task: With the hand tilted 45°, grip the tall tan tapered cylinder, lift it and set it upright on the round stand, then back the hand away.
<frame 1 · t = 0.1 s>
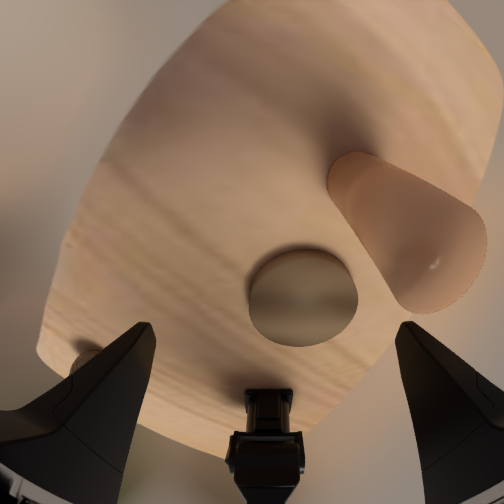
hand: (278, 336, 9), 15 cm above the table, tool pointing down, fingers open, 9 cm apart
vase: (102, 358, 34), on the table
stand: (302, 296, 26), on the table
tan tapered cylinder: (357, 183, 21), on the table
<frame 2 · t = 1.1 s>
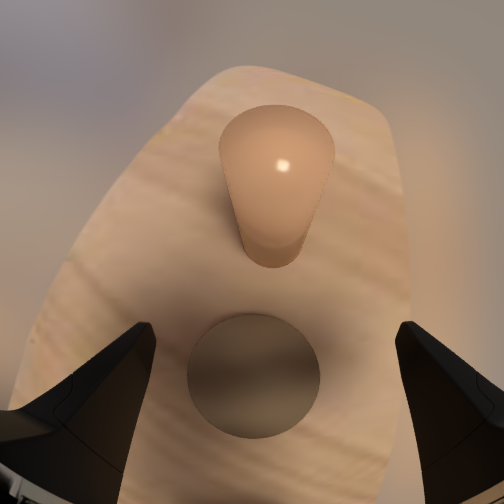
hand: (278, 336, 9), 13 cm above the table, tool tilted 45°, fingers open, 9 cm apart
stand: (254, 375, 21), on the table
tan tapered cylinder: (272, 238, 24), on the table
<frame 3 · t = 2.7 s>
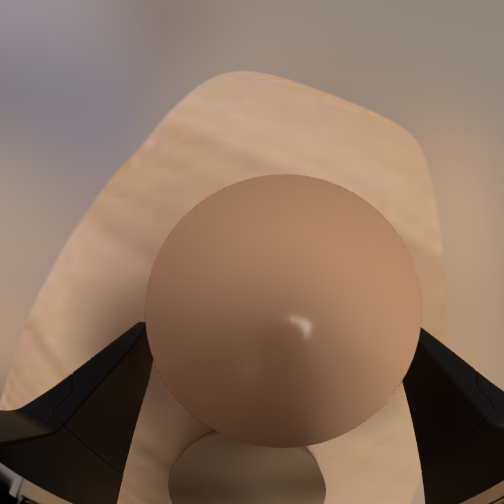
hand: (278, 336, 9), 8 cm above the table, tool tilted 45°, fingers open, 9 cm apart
stand: (247, 485, 14), on the table
tan tapered cylinder: (273, 328, 17), on the table
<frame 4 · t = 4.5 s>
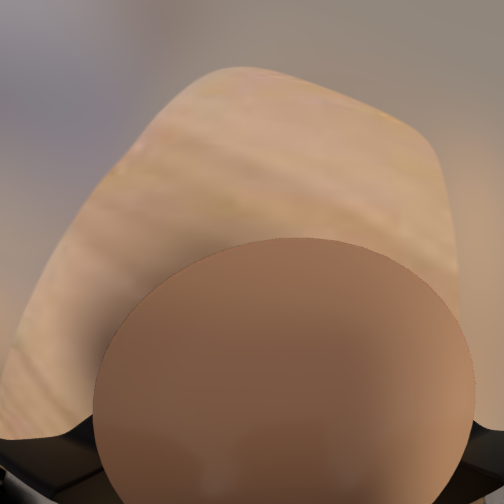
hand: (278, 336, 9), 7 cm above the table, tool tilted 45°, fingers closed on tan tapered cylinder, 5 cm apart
tan tapered cylinder: (273, 359, 15), on the table, touching gripper
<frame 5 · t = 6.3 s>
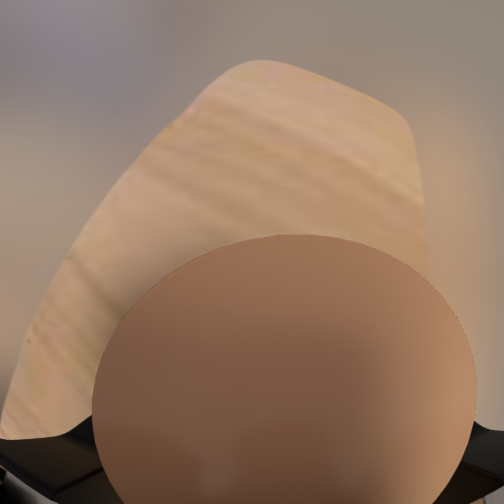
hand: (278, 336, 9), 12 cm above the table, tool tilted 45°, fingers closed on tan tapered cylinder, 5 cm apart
tan tapered cylinder: (273, 358, 15), point 6 cm above the table, touching gripper
when the fingers open (9 cm above the table, at t = 8.2 s): tan tapered cylinder stays where it is, resting on stand.
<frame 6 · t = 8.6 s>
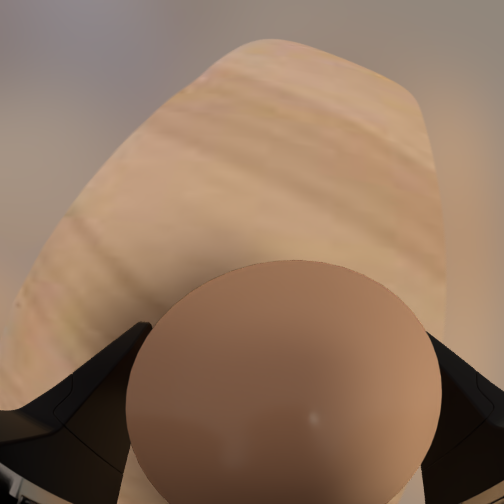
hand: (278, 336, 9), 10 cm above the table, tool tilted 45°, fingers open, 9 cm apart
tan tapered cylinder: (272, 358, 16), point 2 cm above the table, touching stand
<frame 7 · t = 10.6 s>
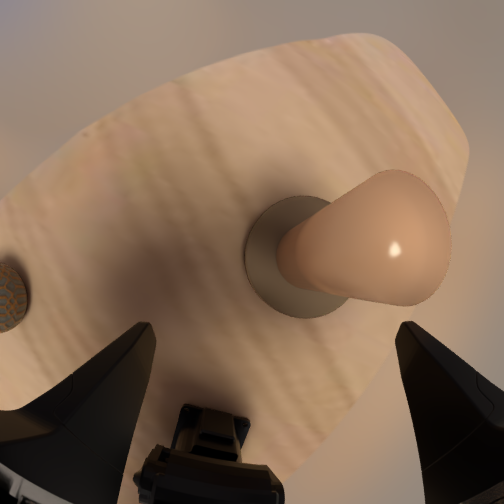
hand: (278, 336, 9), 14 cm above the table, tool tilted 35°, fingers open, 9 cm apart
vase: (16, 295, 21), on the table
stand: (301, 257, 24), on the table
tan tapered cylinder: (307, 256, 22), point 2 cm above the table, touching stand
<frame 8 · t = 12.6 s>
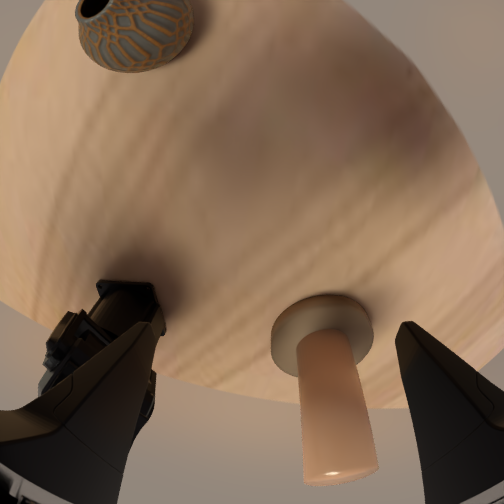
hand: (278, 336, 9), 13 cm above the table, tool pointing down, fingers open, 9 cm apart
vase: (158, 36, 15), on the table
stand: (320, 334, 26), on the table
tan tapered cylinder: (323, 348, 24), point 2 cm above the table, touching stand
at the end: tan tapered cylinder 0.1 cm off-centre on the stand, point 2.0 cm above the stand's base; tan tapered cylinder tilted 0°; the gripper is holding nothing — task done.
